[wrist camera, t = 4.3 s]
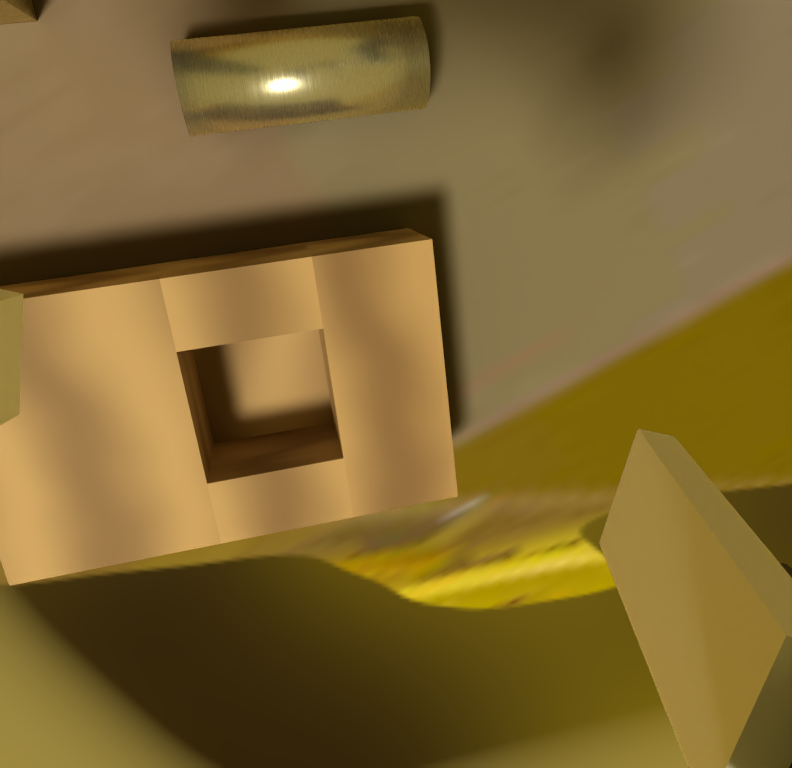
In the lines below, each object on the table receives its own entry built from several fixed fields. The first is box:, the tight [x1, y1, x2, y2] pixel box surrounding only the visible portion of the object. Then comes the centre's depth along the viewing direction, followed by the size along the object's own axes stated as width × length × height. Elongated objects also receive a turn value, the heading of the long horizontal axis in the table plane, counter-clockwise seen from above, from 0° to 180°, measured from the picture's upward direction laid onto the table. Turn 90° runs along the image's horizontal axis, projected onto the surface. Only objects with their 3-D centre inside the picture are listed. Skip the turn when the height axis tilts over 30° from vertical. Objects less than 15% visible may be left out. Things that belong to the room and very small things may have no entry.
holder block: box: [0, 228, 458, 585], centre depth 31 cm, size 20×12×5 cm, turn 97°
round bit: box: [170, 16, 431, 136], centre depth 29 cm, size 10×4×4 cm
